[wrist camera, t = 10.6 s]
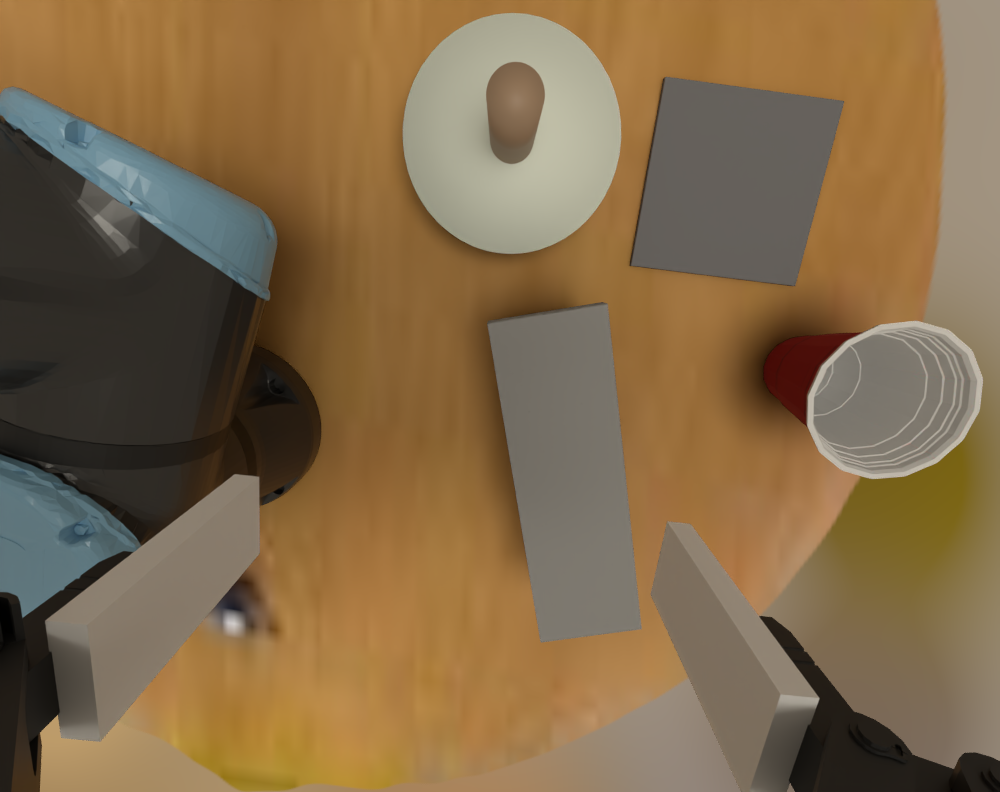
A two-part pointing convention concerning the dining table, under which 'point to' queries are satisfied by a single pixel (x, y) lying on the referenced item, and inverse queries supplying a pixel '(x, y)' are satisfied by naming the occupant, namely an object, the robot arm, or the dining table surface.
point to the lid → (511, 133)
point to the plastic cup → (879, 395)
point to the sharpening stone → (568, 468)
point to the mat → (733, 180)
